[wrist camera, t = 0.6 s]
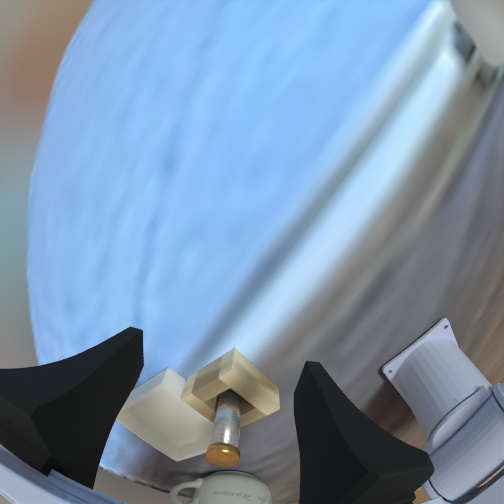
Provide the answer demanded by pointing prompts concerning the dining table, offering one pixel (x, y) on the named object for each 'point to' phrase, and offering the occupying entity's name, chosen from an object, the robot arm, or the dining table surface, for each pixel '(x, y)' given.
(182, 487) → the teacup
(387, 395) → the dining table surface
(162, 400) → the tray
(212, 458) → the pin
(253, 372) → the beige square frame
